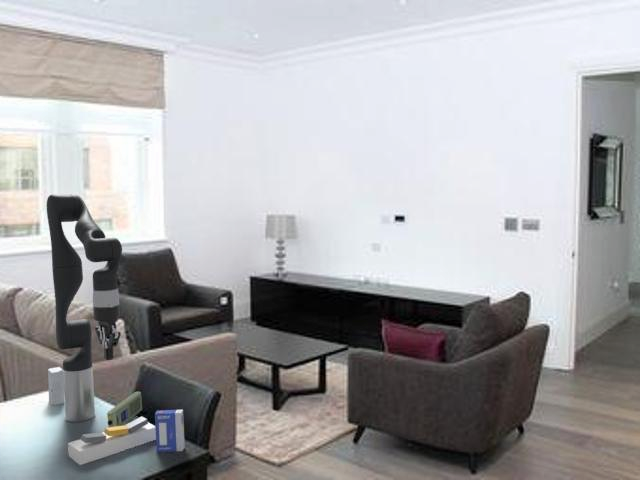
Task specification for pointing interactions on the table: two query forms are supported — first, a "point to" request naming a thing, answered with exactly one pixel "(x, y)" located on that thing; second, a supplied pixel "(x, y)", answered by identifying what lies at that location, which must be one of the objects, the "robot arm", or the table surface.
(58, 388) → the skincare box
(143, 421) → the block
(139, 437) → the power strip
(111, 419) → the handheld radio
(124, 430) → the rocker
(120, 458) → the table surface
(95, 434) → the grey flat block
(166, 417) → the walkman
